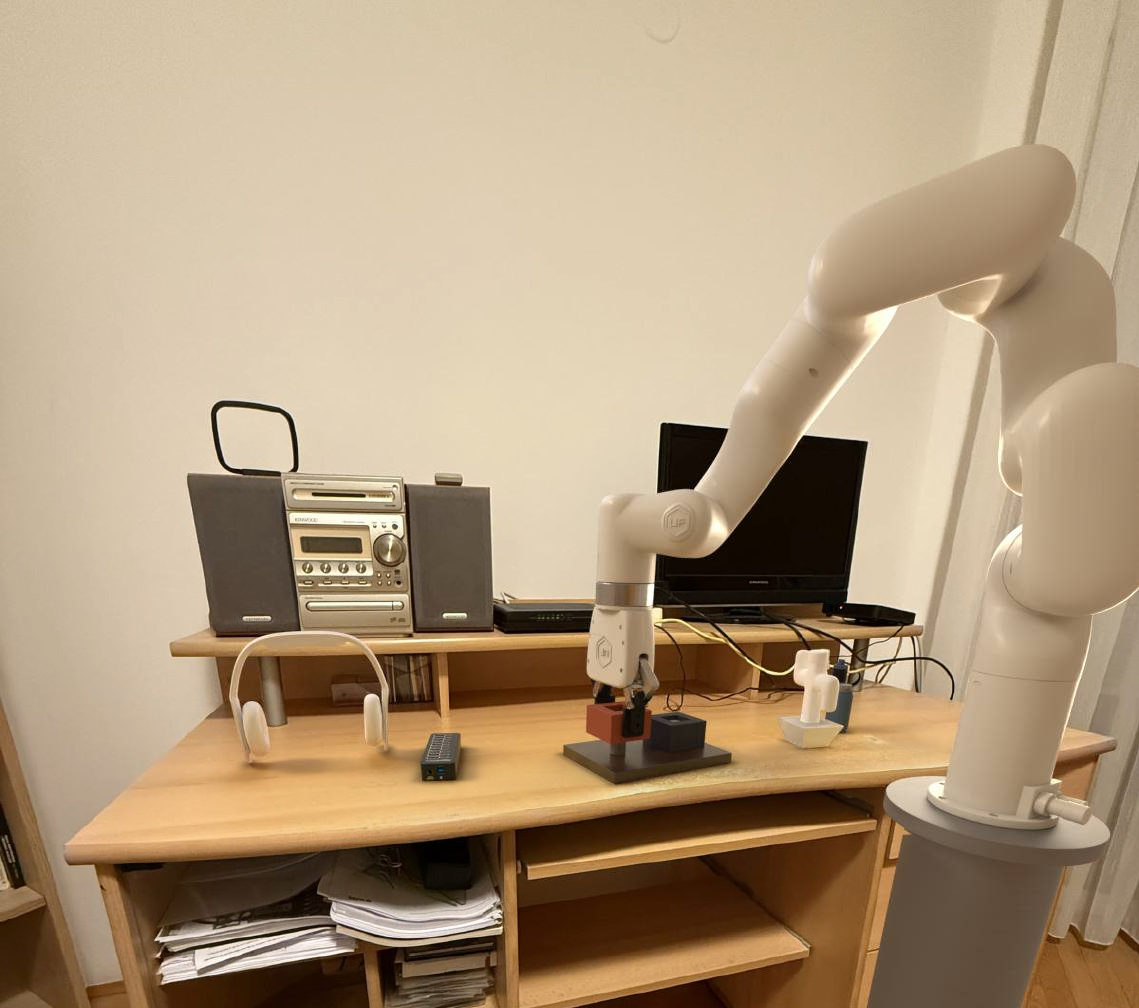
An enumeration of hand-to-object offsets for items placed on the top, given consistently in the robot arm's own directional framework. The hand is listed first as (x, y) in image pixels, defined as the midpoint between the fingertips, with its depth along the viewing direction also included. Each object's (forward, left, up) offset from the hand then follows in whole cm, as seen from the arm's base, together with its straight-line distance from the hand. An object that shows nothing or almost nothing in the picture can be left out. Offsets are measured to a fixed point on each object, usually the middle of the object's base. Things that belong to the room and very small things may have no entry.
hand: (617, 728), depth 84 cm
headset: (+20, +37, -5) cm, 42 cm away
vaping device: (-1, -45, -5) cm, 45 cm away
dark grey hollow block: (0, -10, -4) cm, 11 cm away
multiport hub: (+11, +22, -5) cm, 25 cm away
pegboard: (0, -5, -5) cm, 7 cm away
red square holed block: (0, 0, -1) cm, 1 cm away
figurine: (-5, -33, -5) cm, 34 cm away
